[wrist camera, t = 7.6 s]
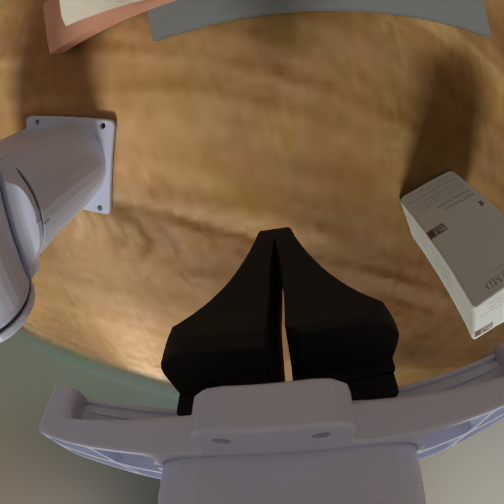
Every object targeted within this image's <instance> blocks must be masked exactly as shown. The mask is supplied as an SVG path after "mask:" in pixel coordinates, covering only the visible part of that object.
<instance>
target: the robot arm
mask: <svg viewBox="0 0 504 504" xmlns="http://www.w3.org/2000/svg"><path fill="white" fill-rule="evenodd" d="M38 120H39V123H38ZM102 123H104V124H105V128H103V127H102ZM115 129H116V124H115V122H114V121H113V120H111V119H101V118H88V117H72V116H30V117H28V118H27V122H26V129H23V130H21V131H19V132H17V133H15V134H12V135H10V136H8V137H6V138H4V139H2V140H0V343H1V342H3V341H4V340H6V339H8V338H9V337H11V336H12V335H13V334H14V333H16V332H17V331H18V330H19V329H20V328H21V326H22V325H23V324H24V323H25V321H26V320H27V318H28V316H29V315H30V313H31V310H32V308H33V305H34V301H35V289H34V285H33V283H32V280H31V279H32V278H33V276H34V275H35V274H36V272H37V271H38V270H39V269H40V264H39V255H40V254H41V252H42V251H43V250H44V249H45V248H46V247H47V246H48V244H49V243H50V242H51V241H52V240H53V239H54V238H55V237H56V236H57V235H58V233H59V232H60V231H61V230H62V229H63V228H64V227H65V226H66V225H67V224H68V223H69V222H70V221H71V220H72V219H73V218H74V217H75V216H76V215H77V214H78V213H79V212H80V211H81V210H82V209H84V210H89V211H94V212H98V213H103V214H108V213H109V212H110V211H111V208H112V169H113V153H114V140H115ZM99 205H100V206H102V208H100V207H99ZM282 286H283V291H284V303H285V328H286V335H287V341H288V347H289V353H290V360H291V366H292V377H293V381H288V382H285V373H284V360H283V346H282ZM398 339H399V332H398V329H397V326H396V323H395V321H394V319H393V317H392V316H391V314H390V312H389V311H388V309H387V308H386V306H385V305H384V303H383V302H382V301H379V300H377V299H374V298H372V297H369V296H367V295H364V294H362V293H360V292H358V291H356V290H354V289H352V288H350V287H349V286H347V285H346V284H344V283H342V282H341V281H339V280H338V279H336V278H335V277H333V276H332V275H331V274H329V273H328V272H327V271H326V270H325V269H323V268H322V267H321V266H320V265H319V264H318V263H317V262H316V261H315V260H314V259H313V258H312V257H311V256H310V255H309V254H308V253H307V251H306V250H305V249H304V248H303V247H302V245H301V244H300V243H299V241H298V240H297V239H296V237H295V236H294V234H293V232H292V230H291V229H290V228H289V227H286V228H279V229H272V230H265V231H260V232H259V233H258V235H257V238H256V240H255V242H254V244H253V246H252V248H251V250H250V252H249V253H248V255H247V257H246V259H245V260H244V262H243V263H242V265H241V266H240V268H239V269H238V271H237V272H236V274H235V275H234V276H233V278H232V279H231V280H230V281H229V282H228V284H227V285H226V286H225V287H224V288H223V289H222V290H221V291H220V292H219V293H218V294H217V295H216V296H215V297H214V298H213V299H212V300H211V301H209V302H208V303H207V304H206V305H205V306H203V307H202V308H201V309H200V310H198V311H197V312H196V313H194V314H193V315H191V316H190V317H188V318H187V319H185V320H184V321H182V322H181V323H179V324H177V325H176V326H174V327H172V330H171V332H170V335H169V337H168V340H167V343H166V346H165V350H164V354H163V358H162V361H161V369H162V371H163V373H164V374H165V376H166V377H167V378H168V380H169V381H170V382H171V383H172V384H173V386H174V387H175V388H176V389H177V390H178V392H179V393H180V396H179V402H178V407H177V409H162V408H150V407H141V406H132V405H124V404H117V403H110V402H104V401H98V400H93V399H87V398H86V397H85V396H84V395H83V394H82V393H81V392H80V391H78V390H77V389H75V388H72V387H68V386H63V385H59V384H58V385H57V384H56V385H55V387H54V389H53V392H52V394H51V397H50V399H49V402H48V405H47V407H46V410H45V413H44V415H43V418H42V421H41V424H40V427H39V432H40V433H42V434H43V435H45V436H47V437H48V438H50V439H51V440H53V441H54V442H56V443H58V444H59V445H61V446H63V447H64V448H66V449H68V450H70V451H71V452H73V453H75V454H77V455H80V456H83V457H86V458H89V459H91V460H94V461H97V462H100V463H104V464H107V465H110V466H113V467H116V468H120V469H123V470H126V471H130V472H134V473H137V474H141V475H145V476H149V477H153V478H158V479H161V484H160V491H159V499H158V504H426V502H425V494H424V487H423V481H422V476H421V470H420V464H419V460H421V459H424V458H426V457H429V456H431V455H433V454H436V453H438V452H441V451H443V450H445V449H447V448H449V447H452V446H454V445H456V444H458V443H460V442H462V441H464V440H466V439H468V438H470V437H472V436H474V435H476V434H477V433H479V432H481V431H483V430H485V429H486V428H488V427H490V426H492V425H493V424H495V423H497V422H498V421H500V420H502V419H504V341H503V342H502V343H501V344H500V345H499V346H498V348H497V349H496V351H495V354H493V355H490V356H488V357H486V358H483V359H481V360H479V361H476V362H474V363H471V364H469V365H466V366H464V367H461V368H458V369H456V370H453V371H450V372H447V373H444V374H441V375H438V376H435V377H432V378H429V379H426V380H423V381H419V382H416V383H413V384H409V385H406V386H402V387H398V386H397V383H396V379H395V376H394V371H395V365H394V362H393V359H392V358H393V355H394V352H395V349H396V346H397V343H398Z"/></svg>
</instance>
